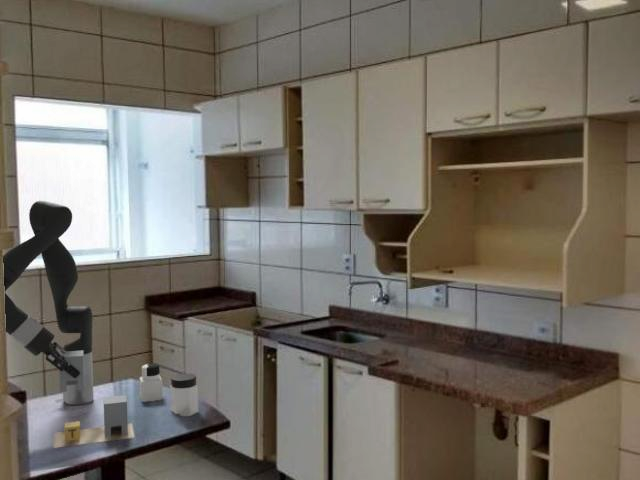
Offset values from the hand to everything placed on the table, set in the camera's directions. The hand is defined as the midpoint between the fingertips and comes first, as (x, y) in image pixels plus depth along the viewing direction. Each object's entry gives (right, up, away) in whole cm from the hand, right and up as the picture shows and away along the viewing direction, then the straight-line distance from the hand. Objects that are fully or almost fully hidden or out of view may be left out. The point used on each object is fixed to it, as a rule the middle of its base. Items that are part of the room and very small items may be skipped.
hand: (78, 372), depth 185 cm
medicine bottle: (+11, -17, +39) cm, 44 cm away
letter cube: (-2, -19, 0) cm, 19 cm away
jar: (+26, -18, +24) cm, 40 cm away
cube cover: (-2, -4, 0) cm, 5 cm away
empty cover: (+10, -19, +5) cm, 22 cm away
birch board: (+4, -20, +3) cm, 21 cm away
